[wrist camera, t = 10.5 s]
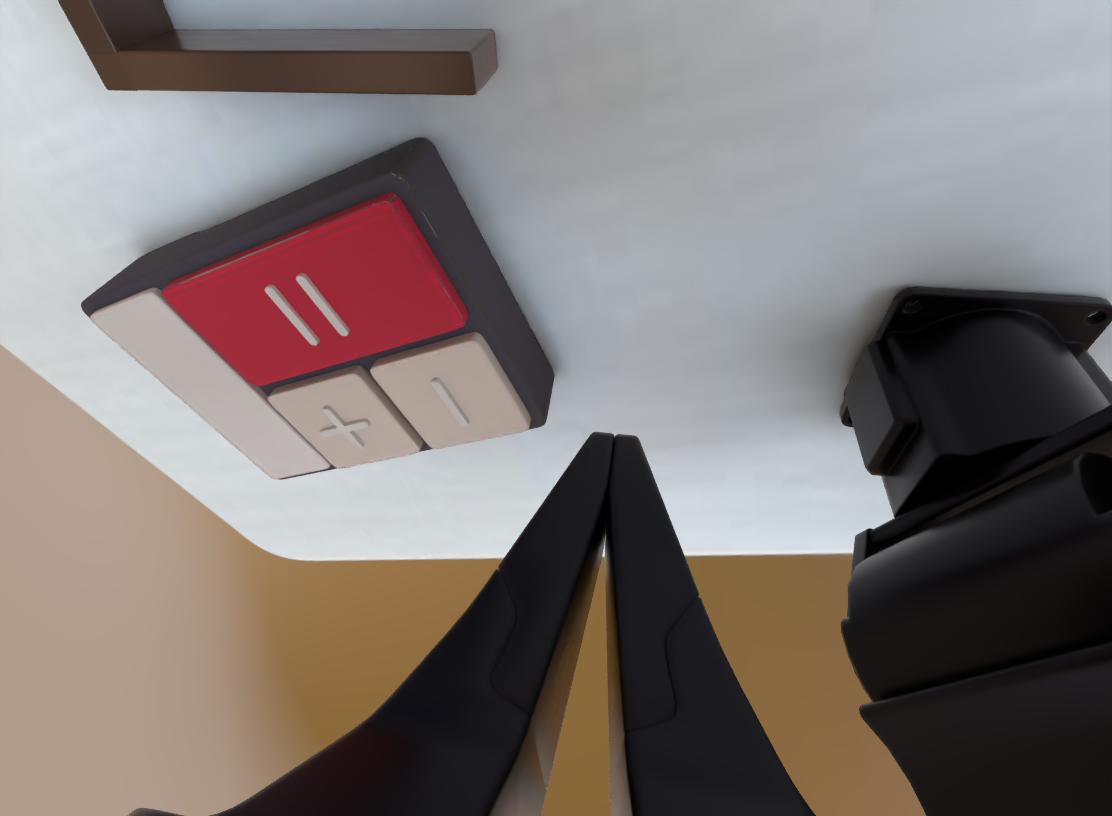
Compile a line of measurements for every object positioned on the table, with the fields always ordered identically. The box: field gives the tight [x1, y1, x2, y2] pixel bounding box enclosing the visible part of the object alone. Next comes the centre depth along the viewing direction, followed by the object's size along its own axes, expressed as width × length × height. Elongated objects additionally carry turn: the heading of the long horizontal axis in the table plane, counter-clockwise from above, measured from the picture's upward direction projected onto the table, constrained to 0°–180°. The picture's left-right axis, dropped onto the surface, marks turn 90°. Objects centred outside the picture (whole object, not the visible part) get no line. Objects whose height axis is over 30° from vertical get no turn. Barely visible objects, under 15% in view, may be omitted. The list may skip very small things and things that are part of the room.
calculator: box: [81, 138, 554, 479], centre depth 22 cm, size 11×4×15 cm
